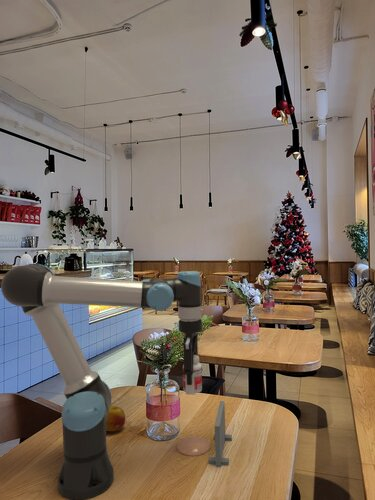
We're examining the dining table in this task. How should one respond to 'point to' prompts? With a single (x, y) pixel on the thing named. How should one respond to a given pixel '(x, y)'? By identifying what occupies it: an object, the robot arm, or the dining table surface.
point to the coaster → (193, 446)
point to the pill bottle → (195, 375)
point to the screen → (220, 438)
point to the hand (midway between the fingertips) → (192, 389)
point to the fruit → (115, 419)
